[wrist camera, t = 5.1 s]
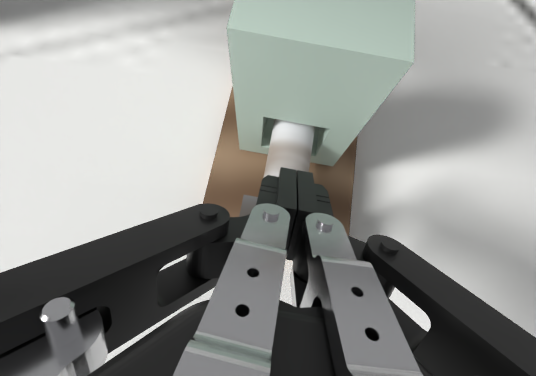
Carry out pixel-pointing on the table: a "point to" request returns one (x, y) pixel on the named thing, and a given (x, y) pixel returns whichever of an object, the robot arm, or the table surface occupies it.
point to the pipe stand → (275, 167)
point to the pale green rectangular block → (316, 66)
